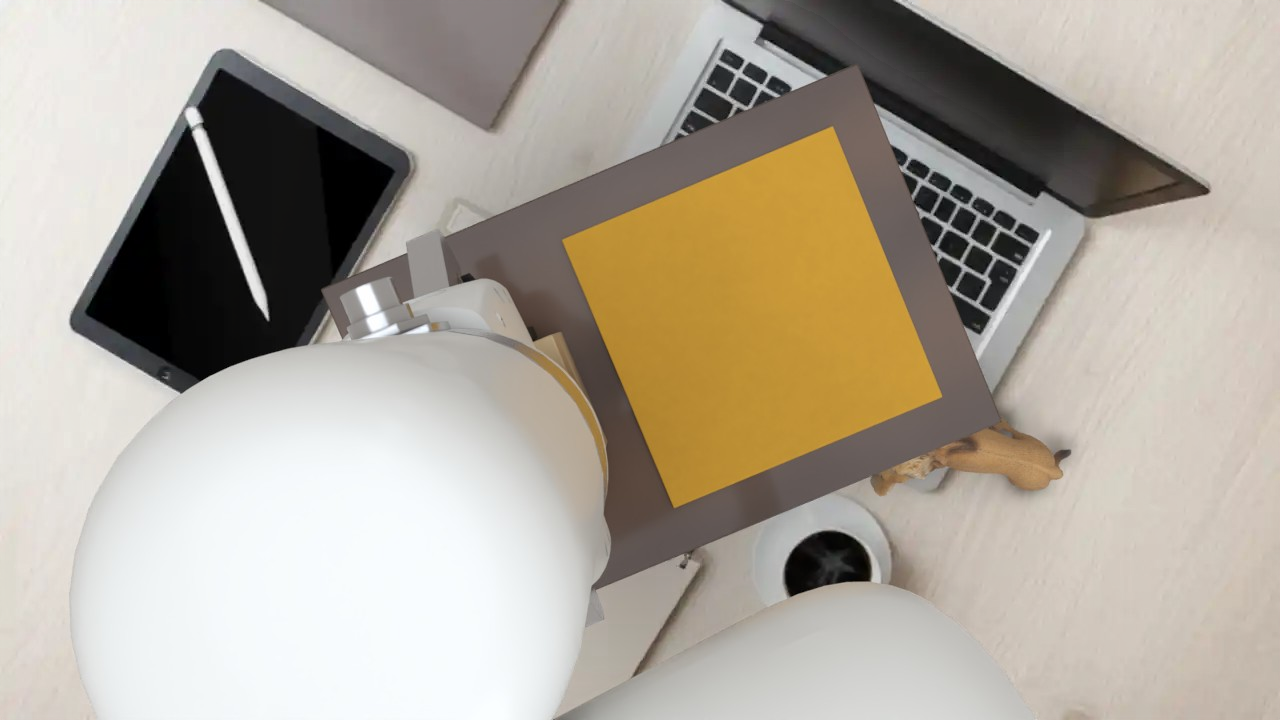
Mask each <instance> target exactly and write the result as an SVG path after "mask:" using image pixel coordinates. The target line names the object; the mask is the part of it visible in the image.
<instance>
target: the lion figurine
mask: <svg viewBox="0 0 1280 720" xmlns="http://www.w3.org/2000/svg"><path fill="white" fill-rule="evenodd" d="M1001 420H1002V422H1001V423H999V424H996V425H994V426H991V427H989V428H987V429H984V430H982V431H979V432H977V433H975V434H972V435H970V436H967V437H965V438H962V439H960V440H958V441H955V442H953V443H950V444H948V445H946V446H943V447H941V448H938V449H936V450H933V451H931V452H929V453H926V454H924V455H921V456H919V457H916V458H914V459H912V460H909V461H907V462H904V463H902V464H900V465H897V466H895V467H892V468H890V469H887V470H885V471H883V472H880V473H878V474H875V475H873V476H871V477H870V481H869V483H870V485H871V487H872V488H873V491H874V493H875V494H876V495H877V496H879V497H886V496H887V495H888V494H889V493H890V492H892V491H893V489H894V487H895V486H896V484H904V483H906V482H907V481H909V480H910V479H912V480H913V479H920V480H926V479H927V477H926V476H929V474H930V473H931V472H934V471H935V470H939V469H943V468H946V467H947V468H950V469H953V470H957V471H960V472H964V473H975V474H988V475H989V474H990V475H991V474H993V475H994V474H995V475H1002V476H1006V478H1007V480H1008V481H1009V483H1010V484H1011V486H1014V487H1016V488H1018V489H1020V490H1022V491H1027V492H1033V491H1040V490H1044V489H1046V488H1047V487H1048V486H1050V485H1049V484H1050V482H1051V481H1057V480H1061V479H1062V478H1063V477H1064V471H1063V470H1062V469H1061V467H1060V464H1061V462H1062V461H1063V460H1064V459H1067V458H1069V457H1070V456H1071V455H1072V449H1069V448H1068V449H1060V450H1058V451H1057V452H1055V454H1053V451H1051V450H1050V448H1048V446H1047V445H1046V444H1045V443H1044V442H1043V441H1041V440H1039V439H1038V438H1036V437H1034V436H1032V435H1030V434H1026V433H1023V432H1021V431H1018V430H1016V429H1014V428H1013V427H1012V426H1011V425H1010V423H1009V422H1008V421H1007V420H1005V419H1004V418H1003V417H1001Z"/></svg>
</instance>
